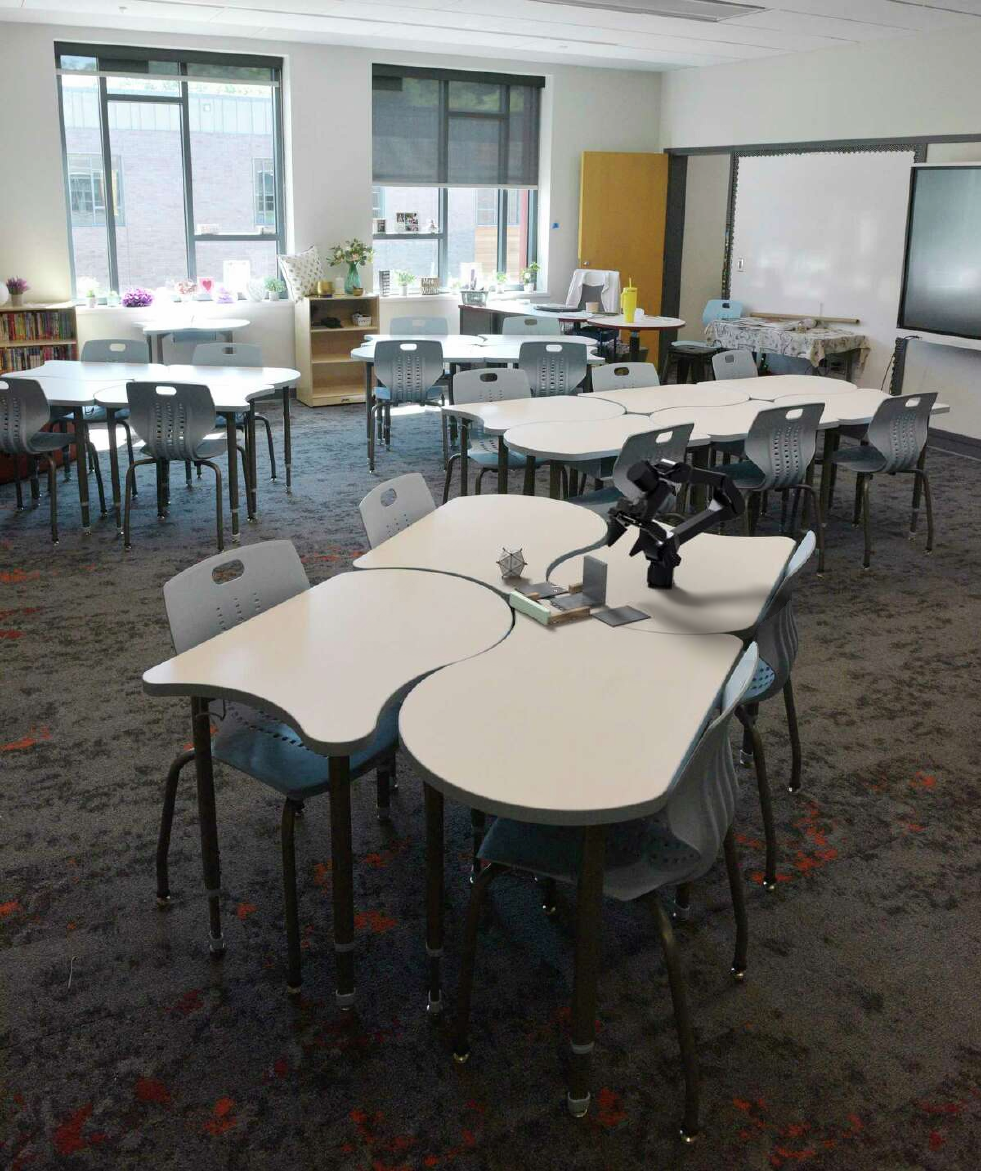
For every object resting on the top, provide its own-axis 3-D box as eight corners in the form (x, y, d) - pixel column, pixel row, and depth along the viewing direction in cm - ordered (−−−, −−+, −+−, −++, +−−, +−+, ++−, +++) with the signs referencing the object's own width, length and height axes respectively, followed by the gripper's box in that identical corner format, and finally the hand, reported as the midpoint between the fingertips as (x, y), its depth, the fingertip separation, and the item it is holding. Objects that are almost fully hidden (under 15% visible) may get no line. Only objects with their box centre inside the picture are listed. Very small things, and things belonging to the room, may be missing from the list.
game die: (516, 587, 298) (536, 557, 298) (514, 587, 289) (535, 556, 289) (489, 569, 299) (509, 539, 298) (486, 568, 290) (507, 537, 290)
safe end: (514, 604, 276) (514, 591, 275) (550, 624, 263) (551, 610, 262) (509, 605, 275) (509, 592, 274) (545, 625, 262) (546, 612, 261)
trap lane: (569, 577, 295) (569, 570, 294) (650, 617, 268) (651, 609, 267) (492, 594, 282) (492, 586, 282) (569, 637, 255) (569, 629, 255)
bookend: (586, 595, 283) (588, 555, 279) (605, 604, 276) (607, 563, 273) (549, 603, 277) (550, 562, 273) (567, 613, 270) (569, 571, 267)
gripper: (611, 477, 283) (579, 526, 282) (657, 493, 268) (623, 545, 267) (636, 498, 289) (604, 547, 288) (682, 516, 274) (648, 567, 274)
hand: (619, 551), depth 279 cm, fingers open, 9 cm apart
